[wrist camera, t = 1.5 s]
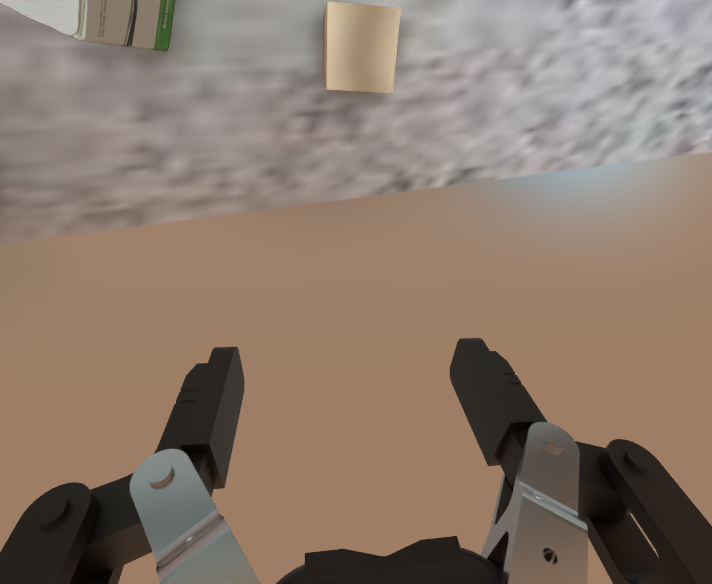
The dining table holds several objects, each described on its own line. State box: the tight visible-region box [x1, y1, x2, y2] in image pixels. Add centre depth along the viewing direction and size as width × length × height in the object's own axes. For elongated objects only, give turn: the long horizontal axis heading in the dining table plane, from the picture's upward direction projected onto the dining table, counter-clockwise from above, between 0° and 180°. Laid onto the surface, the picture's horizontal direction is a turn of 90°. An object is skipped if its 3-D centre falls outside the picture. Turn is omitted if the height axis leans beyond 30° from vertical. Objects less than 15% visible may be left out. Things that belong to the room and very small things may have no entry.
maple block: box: [323, 1, 401, 93], centre depth 25 cm, size 5×5×8 cm
